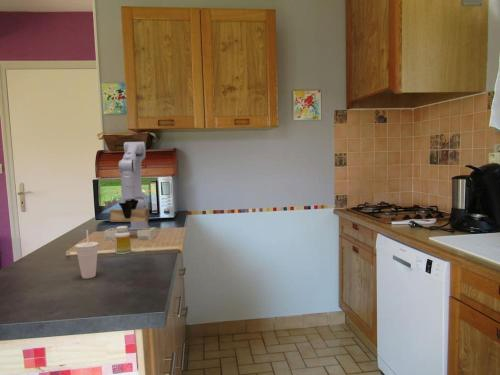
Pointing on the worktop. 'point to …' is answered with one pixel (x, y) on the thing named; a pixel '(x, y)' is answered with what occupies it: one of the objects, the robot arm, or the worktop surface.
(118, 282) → the worktop surface
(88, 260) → the smoothie
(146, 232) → the cup bracket
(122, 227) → the supplement bottle
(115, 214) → the oak rail
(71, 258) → the worktop surface
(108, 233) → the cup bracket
